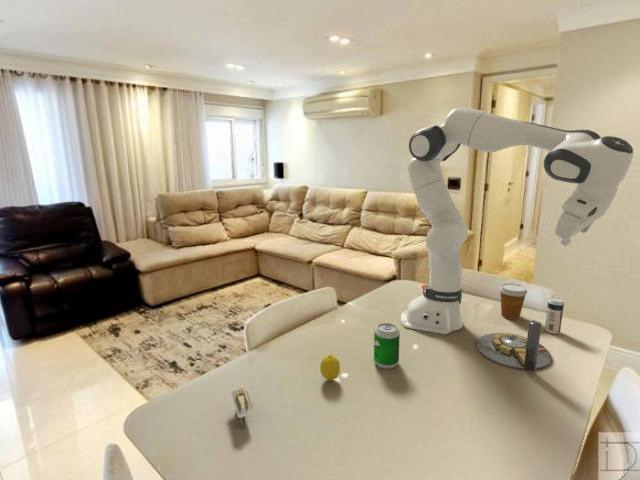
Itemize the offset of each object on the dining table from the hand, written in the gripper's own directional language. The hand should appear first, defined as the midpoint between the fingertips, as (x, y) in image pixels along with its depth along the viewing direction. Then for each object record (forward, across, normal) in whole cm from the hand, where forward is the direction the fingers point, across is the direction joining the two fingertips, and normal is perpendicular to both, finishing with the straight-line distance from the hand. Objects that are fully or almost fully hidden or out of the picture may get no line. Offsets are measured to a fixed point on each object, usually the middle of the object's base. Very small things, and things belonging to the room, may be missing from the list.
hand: (573, 237), depth 109 cm
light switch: (+17, +102, -17) cm, 105 cm away
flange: (+34, +21, +4) cm, 40 cm away
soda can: (+29, +58, -14) cm, 67 cm away
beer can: (+41, -2, +6) cm, 41 cm away
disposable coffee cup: (+46, -1, -9) cm, 47 cm away
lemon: (+24, +77, -17) cm, 82 cm away
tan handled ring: (+31, +23, +6) cm, 39 cm away
